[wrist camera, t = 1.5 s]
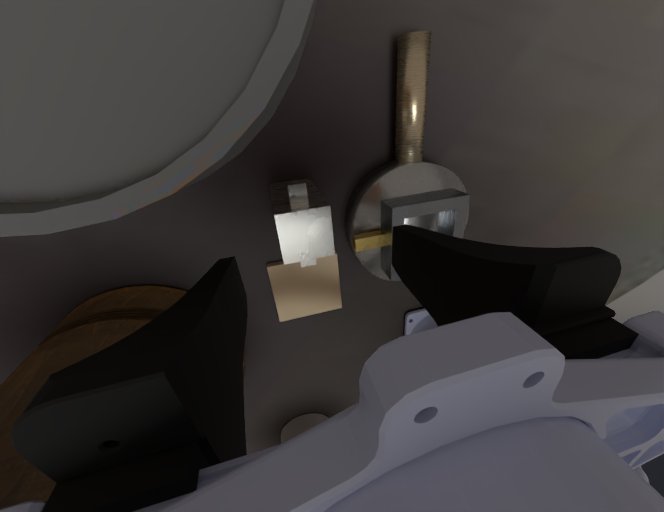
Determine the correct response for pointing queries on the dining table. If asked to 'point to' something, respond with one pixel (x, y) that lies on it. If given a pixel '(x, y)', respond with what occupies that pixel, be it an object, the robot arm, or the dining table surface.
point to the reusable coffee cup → (132, 99)
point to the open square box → (399, 208)
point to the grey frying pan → (401, 156)
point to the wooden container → (60, 352)
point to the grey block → (302, 222)
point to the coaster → (305, 287)
